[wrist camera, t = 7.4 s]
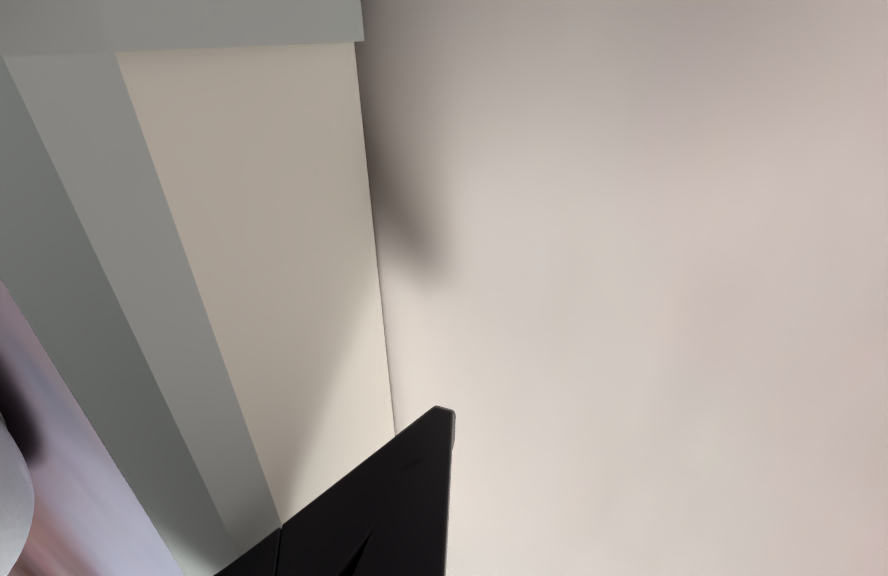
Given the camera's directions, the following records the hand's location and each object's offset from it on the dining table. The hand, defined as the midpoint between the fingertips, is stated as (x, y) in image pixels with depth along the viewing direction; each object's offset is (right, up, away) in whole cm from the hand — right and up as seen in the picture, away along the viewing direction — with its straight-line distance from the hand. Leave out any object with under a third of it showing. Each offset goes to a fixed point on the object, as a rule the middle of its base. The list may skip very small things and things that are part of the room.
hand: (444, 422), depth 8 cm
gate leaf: (-2, +1, +2) cm, 3 cm away
